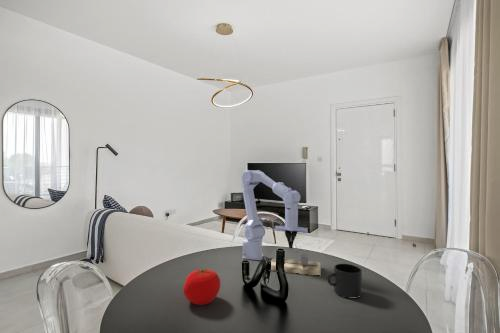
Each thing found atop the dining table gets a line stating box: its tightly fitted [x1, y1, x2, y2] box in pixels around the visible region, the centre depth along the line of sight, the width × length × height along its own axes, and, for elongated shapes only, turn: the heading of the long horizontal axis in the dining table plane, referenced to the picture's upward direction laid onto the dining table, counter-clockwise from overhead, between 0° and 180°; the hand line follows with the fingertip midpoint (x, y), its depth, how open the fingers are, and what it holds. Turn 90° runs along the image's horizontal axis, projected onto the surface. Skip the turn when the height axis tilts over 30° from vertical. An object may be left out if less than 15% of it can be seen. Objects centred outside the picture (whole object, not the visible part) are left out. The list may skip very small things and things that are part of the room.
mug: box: [327, 263, 363, 297], centre depth 96 cm, size 9×12×9 cm
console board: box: [270, 257, 322, 277], centre depth 118 cm, size 22×10×2 cm, turn 76°
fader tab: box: [300, 253, 309, 266], centre depth 117 cm, size 3×4×4 cm
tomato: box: [183, 268, 221, 306], centre depth 88 cm, size 11×12×10 cm
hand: (290, 247), depth 119 cm, fingers closed
